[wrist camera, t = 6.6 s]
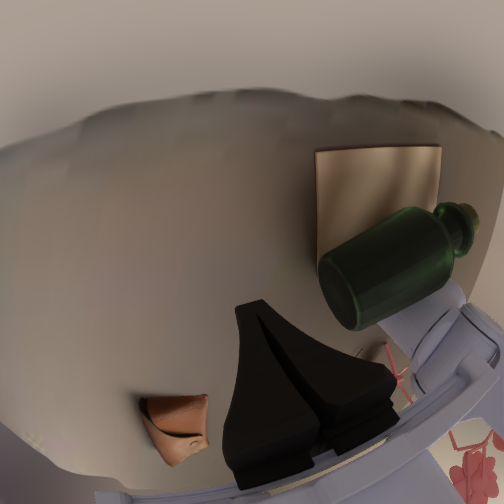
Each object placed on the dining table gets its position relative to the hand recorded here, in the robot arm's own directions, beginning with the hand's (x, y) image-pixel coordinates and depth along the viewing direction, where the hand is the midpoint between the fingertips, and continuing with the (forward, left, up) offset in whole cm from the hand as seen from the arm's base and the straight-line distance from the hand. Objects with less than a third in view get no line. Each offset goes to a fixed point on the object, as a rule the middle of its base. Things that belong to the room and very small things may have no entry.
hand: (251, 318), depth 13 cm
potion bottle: (-7, +5, -4) cm, 10 cm away
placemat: (-16, 0, -9) cm, 18 cm away
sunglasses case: (+11, +26, -9) cm, 30 cm away
